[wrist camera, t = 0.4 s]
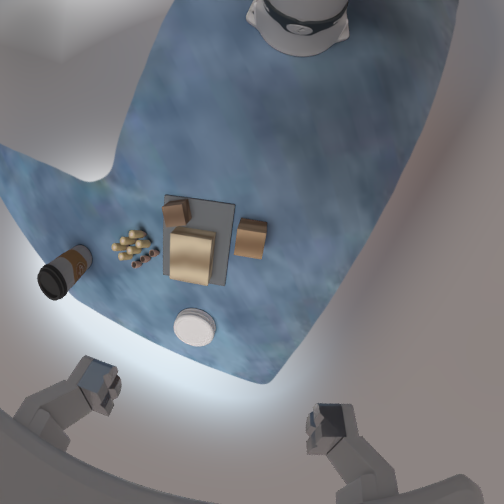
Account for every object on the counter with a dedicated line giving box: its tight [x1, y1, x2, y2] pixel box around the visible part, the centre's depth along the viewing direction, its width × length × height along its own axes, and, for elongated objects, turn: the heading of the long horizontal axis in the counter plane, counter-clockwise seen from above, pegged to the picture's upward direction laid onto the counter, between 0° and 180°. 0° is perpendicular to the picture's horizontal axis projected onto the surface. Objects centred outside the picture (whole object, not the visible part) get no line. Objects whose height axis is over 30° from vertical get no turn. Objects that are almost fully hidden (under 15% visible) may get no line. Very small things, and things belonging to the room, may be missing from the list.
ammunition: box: [112, 230, 160, 268], centre depth 54 cm, size 5×7×8 cm
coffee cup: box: [37, 245, 92, 300], centre depth 52 cm, size 8×8×15 cm
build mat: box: [163, 195, 235, 286], centre depth 55 cm, size 18×14×1 cm
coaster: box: [174, 308, 216, 346], centre depth 63 cm, size 10×10×4 cm
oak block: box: [234, 218, 267, 259], centre depth 51 cm, size 5×5×6 cm
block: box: [162, 199, 192, 227], centre depth 50 cm, size 4×4×4 cm
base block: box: [170, 226, 216, 286], centre depth 54 cm, size 10×8×4 cm
